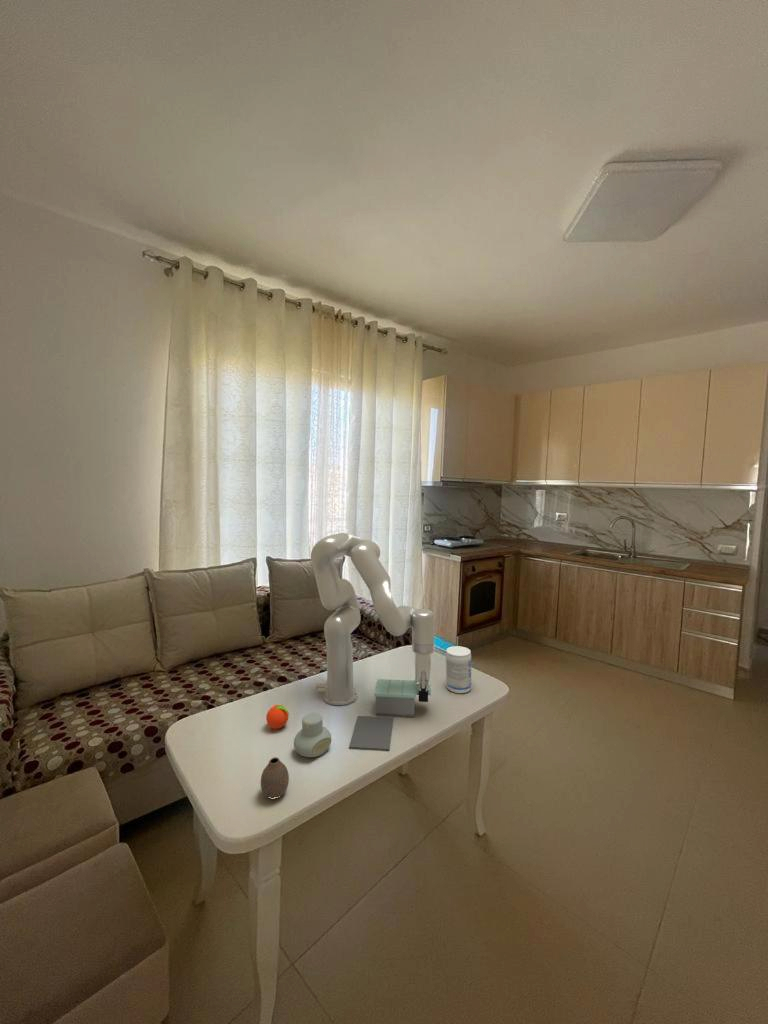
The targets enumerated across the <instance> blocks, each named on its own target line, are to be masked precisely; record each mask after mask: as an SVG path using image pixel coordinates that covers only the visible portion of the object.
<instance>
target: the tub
mask: <svg viewBox="0 0 768 1024" xmlns="http://www.w3.org/2000/svg"><path fill="white" fill-rule="evenodd" d="M415 709H416V698H401V697H378V696H375V716H376V717H393V718H395V717H399V718H415V712H416V710H415Z"/></svg>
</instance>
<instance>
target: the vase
mask: <svg viewBox="0 0 768 1024" xmlns="http://www.w3.org/2000/svg"><path fill="white" fill-rule="evenodd" d="M289 775H290V773H289V770H288V768H287V766H286V765H285V764H284V763H283V762H282V761H281V760H280V758H279V757H275V756H274V757H272V758H270V759H269V761H268V764H267V765H266V766H265V768H264V769H263V771H262V772H261V776H260V788H261V791H262V794H263V796H264V797H266V796H267V797H271V798H274V797H279V796H281V795H282V794H283V795H284V794H285V793H286V791H287V789H288V787H289V784H290V783H289V782H290V776H289ZM283 795H282V796H283ZM282 796H281V797H282ZM267 797H266V798H267ZM279 798H280V797H279Z"/></svg>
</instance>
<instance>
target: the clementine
mask: <svg viewBox="0 0 768 1024" xmlns="http://www.w3.org/2000/svg"><path fill="white" fill-rule="evenodd" d="M289 716H291V714H290V712H289V710H288V708H286V707H285V706H284V705H282V704H275V705H273V706H272V707H270V709H269V710H268V711H267V713H266V723H267V725H268V726H269V727H270V728H272V729H274V730H278V729H279V730H280V729H281V728H282V727H284V726H285V725H286V724H287V722H288V721H289V720H288V719H289Z"/></svg>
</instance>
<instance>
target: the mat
mask: <svg viewBox="0 0 768 1024" xmlns="http://www.w3.org/2000/svg"><path fill="white" fill-rule="evenodd" d="M393 725H394V716H376V715H374V716H373V715H357V717H356V721H355V724H354V727H353V731H352V735H351V738H350V742H349V745H348V749H350V750H363V751H364V750H367V751H385V752H390V748H391V742H392V741H391V740H392V733H393V732H392V731H393Z"/></svg>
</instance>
